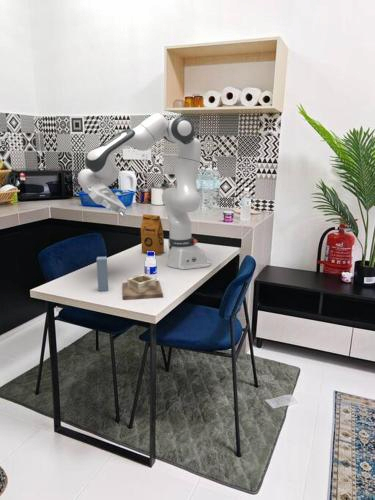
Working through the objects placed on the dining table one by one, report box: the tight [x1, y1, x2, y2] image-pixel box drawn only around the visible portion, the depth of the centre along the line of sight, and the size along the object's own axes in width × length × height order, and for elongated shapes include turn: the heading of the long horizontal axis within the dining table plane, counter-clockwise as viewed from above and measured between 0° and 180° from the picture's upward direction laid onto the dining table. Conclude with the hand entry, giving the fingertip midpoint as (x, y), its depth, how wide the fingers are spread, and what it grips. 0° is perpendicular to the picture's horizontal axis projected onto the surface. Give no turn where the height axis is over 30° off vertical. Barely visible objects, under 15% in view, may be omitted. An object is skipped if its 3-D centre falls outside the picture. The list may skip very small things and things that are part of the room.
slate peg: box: [96, 256, 109, 292], centre depth 165 cm, size 4×4×14 cm
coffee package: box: [140, 213, 165, 256], centre depth 220 cm, size 10×12×22 cm
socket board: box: [121, 274, 164, 301], centre depth 164 cm, size 16×16×6 cm
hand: (117, 211), depth 168 cm, fingers open, 8 cm apart
